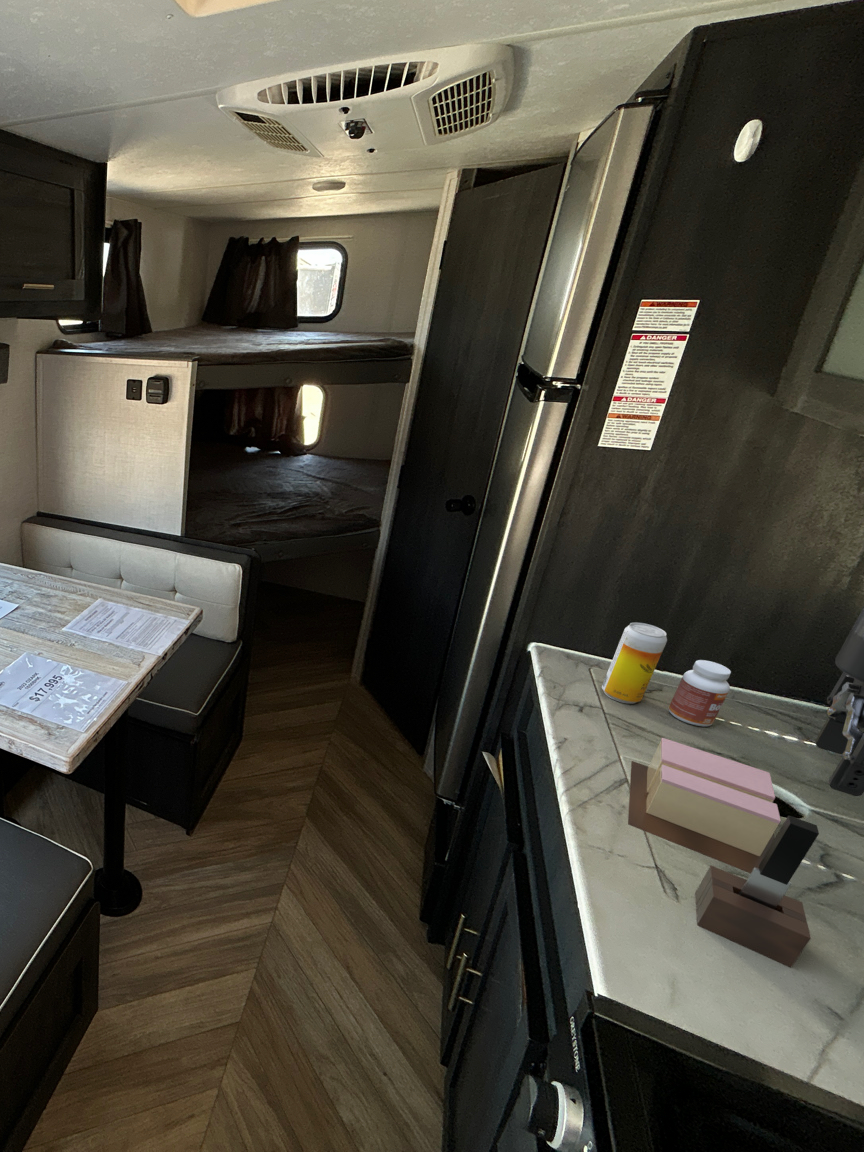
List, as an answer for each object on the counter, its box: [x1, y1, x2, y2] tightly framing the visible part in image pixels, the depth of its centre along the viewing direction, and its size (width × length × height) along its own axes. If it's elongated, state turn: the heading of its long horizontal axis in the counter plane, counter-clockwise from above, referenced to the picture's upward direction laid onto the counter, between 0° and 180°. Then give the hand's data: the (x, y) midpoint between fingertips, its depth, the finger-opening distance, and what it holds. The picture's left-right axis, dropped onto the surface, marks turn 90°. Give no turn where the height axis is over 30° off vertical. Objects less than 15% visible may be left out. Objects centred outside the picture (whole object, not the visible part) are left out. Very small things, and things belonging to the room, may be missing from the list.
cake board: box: [627, 760, 776, 874], centre depth 94 cm, size 16×18×1 cm
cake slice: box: [646, 765, 782, 856], centre depth 91 cm, size 12×4×7 cm, turn 49°
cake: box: [647, 737, 776, 803], centre depth 95 cm, size 12×7×7 cm, turn 49°
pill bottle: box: [668, 659, 732, 727], centre depth 115 cm, size 6×6×11 cm
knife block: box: [694, 865, 812, 969], centre depth 76 cm, size 8×6×6 cm
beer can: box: [601, 622, 668, 705], centre depth 120 cm, size 6×6×15 cm
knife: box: [738, 815, 820, 910], centre depth 74 cm, size 3×2×17 cm, turn 49°
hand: (835, 769), depth 68 cm, fingers open, 8 cm apart
